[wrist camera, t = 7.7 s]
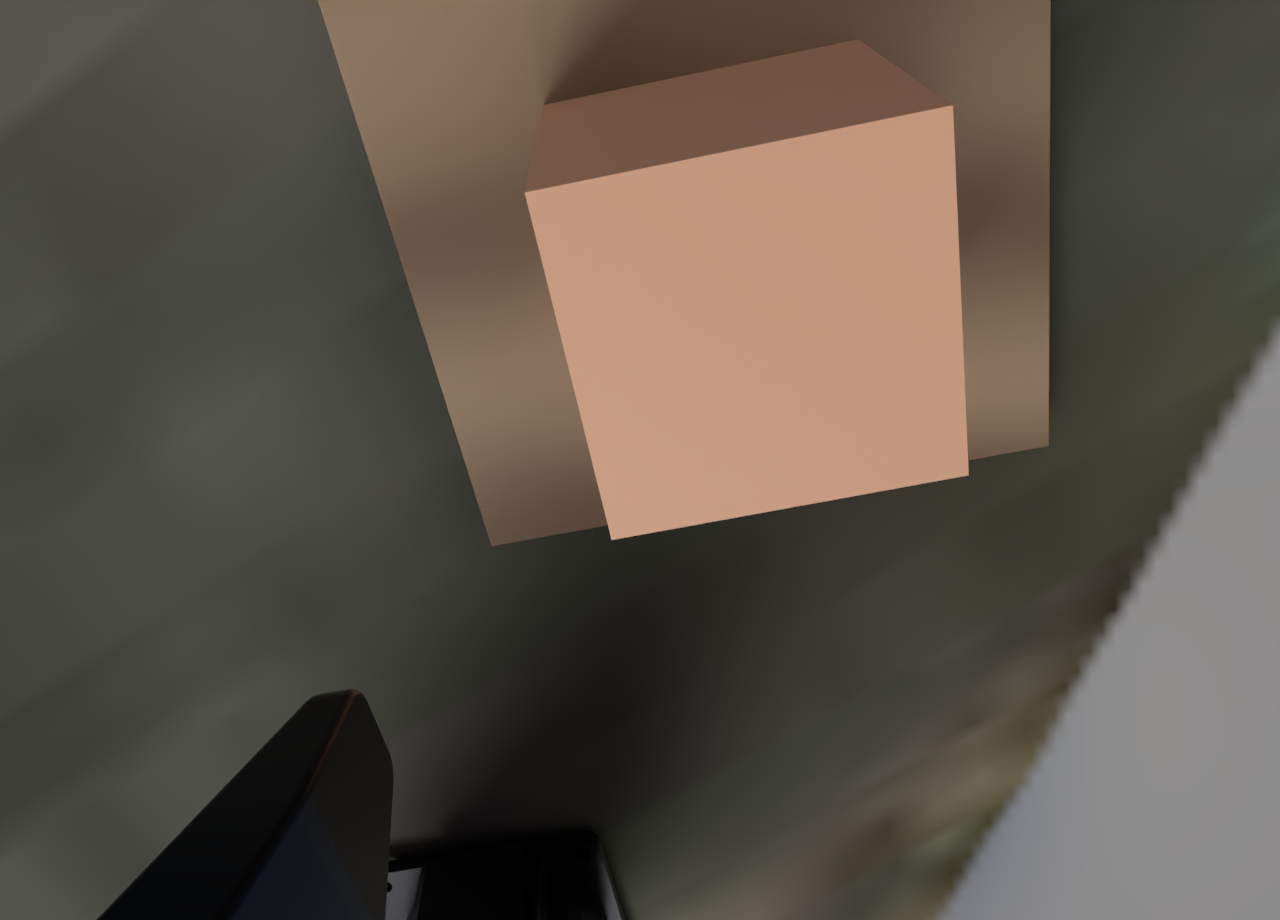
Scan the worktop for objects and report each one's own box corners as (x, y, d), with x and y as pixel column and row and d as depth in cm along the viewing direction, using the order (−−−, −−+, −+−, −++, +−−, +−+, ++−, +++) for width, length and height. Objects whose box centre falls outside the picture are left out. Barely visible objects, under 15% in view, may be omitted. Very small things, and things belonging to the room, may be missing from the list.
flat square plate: (1035, 428, 23) (1049, 445, 22) (494, 525, 24) (491, 546, 23) (1032, -221, 17) (1051, -225, 16) (311, -63, 18) (299, -58, 17)
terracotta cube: (882, 332, 21) (968, 475, 16) (608, 385, 21) (611, 539, 16) (858, 39, 18) (953, 104, 13) (543, 105, 18) (524, 192, 14)
